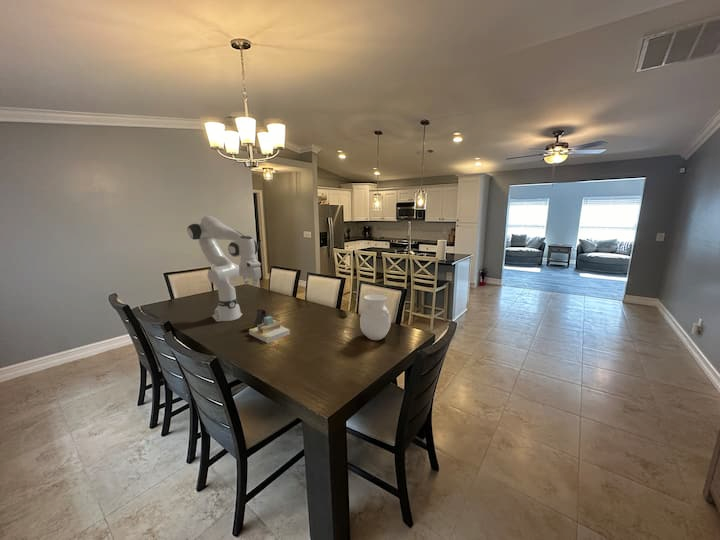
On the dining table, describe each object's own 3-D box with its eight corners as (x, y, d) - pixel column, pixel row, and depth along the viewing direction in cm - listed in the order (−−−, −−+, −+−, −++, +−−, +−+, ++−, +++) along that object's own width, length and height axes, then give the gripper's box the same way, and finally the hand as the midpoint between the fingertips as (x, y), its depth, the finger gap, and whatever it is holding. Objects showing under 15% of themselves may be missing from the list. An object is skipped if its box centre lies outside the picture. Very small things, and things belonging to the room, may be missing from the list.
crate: (264, 323, 176) (263, 317, 176) (269, 321, 179) (269, 315, 179) (267, 325, 174) (267, 319, 173) (273, 323, 177) (273, 317, 176)
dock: (249, 334, 178) (249, 329, 178) (271, 326, 190) (271, 321, 190) (267, 342, 165) (266, 337, 165) (290, 334, 177) (289, 329, 177)
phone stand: (258, 329, 185) (256, 312, 183) (254, 327, 189) (252, 310, 187) (270, 325, 191) (269, 308, 189) (266, 323, 196) (265, 307, 193)
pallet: (257, 331, 175) (257, 325, 174) (274, 325, 184) (274, 319, 183) (263, 333, 171) (262, 327, 170) (280, 327, 180) (279, 321, 179)
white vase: (374, 328, 185) (374, 291, 180) (397, 336, 172) (397, 296, 167) (353, 337, 172) (352, 297, 167) (376, 346, 159) (376, 303, 154)
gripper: (235, 261, 178) (237, 283, 180) (252, 265, 165) (254, 288, 167) (244, 260, 182) (246, 281, 185) (262, 263, 169) (263, 286, 172)
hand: (250, 284), depth 176 cm, fingers open, 8 cm apart
